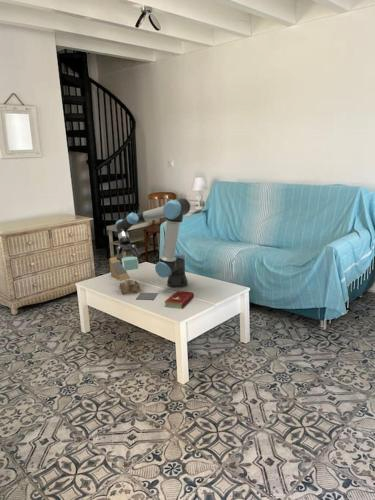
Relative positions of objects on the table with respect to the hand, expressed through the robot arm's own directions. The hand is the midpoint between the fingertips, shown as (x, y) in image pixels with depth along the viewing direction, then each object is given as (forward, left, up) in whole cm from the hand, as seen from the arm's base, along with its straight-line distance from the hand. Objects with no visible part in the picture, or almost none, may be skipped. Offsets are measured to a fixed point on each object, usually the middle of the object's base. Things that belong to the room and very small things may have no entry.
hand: (130, 266), depth 272 cm
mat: (-12, +6, -19) cm, 23 cm away
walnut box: (+3, -4, -19) cm, 20 cm away
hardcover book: (-36, +13, -20) cm, 43 cm away
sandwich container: (+20, -33, -19) cm, 43 cm away
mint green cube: (+2, -3, -2) cm, 4 cm away
